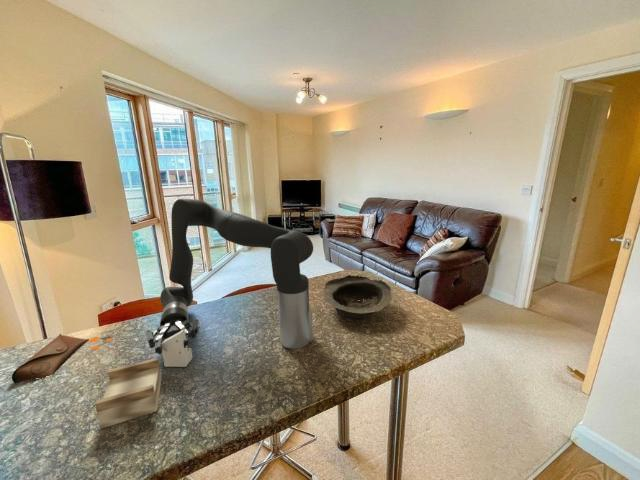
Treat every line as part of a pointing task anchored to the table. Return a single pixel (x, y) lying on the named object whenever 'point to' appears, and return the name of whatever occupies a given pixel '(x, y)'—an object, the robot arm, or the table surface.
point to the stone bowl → (357, 296)
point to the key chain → (102, 341)
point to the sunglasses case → (48, 358)
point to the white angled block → (176, 351)
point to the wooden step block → (130, 393)
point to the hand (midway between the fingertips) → (171, 347)
